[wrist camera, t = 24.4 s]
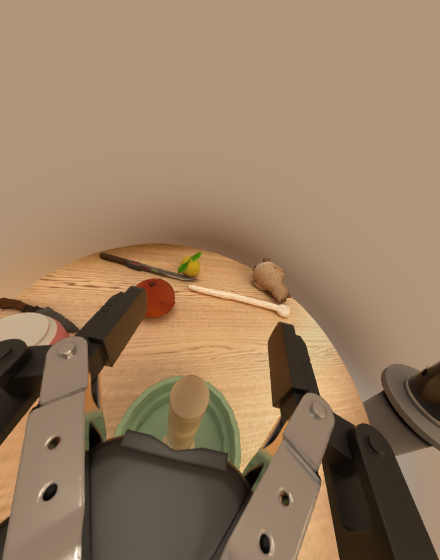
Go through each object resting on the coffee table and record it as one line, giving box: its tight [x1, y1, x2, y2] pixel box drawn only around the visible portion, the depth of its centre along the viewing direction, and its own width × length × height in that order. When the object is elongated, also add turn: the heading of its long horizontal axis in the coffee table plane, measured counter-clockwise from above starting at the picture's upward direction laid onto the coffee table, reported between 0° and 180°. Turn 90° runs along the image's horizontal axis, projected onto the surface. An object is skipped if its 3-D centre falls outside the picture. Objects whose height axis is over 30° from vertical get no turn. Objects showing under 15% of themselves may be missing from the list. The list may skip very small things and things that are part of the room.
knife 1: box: [0, 298, 80, 332], centre depth 34 cm, size 17×2×5 cm
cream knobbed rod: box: [188, 285, 290, 317], centre depth 48 cm, size 28×4×3 cm, turn 83°
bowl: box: [113, 376, 241, 470], centre depth 22 cm, size 14×14×6 cm
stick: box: [162, 375, 209, 450], centre depth 18 cm, size 4×4×18 cm
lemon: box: [178, 252, 202, 276], centre depth 52 cm, size 7×6×10 cm
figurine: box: [253, 258, 291, 303], centre depth 54 cm, size 9×10×15 cm
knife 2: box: [99, 253, 198, 280], centre depth 52 cm, size 3×2×30 cm
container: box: [0, 313, 70, 346], centre depth 26 cm, size 10×10×8 cm
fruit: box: [137, 279, 175, 317], centre depth 40 cm, size 9×9×8 cm
